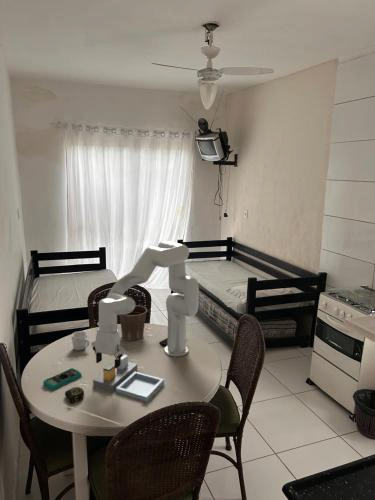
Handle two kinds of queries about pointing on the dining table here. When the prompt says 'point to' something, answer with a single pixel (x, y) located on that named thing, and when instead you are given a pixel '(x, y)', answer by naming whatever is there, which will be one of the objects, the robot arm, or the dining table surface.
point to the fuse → (123, 362)
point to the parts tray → (140, 386)
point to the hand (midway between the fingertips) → (108, 364)
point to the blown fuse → (109, 372)
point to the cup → (80, 340)
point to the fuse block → (115, 378)
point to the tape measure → (74, 394)
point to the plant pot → (133, 323)
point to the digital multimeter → (62, 379)
